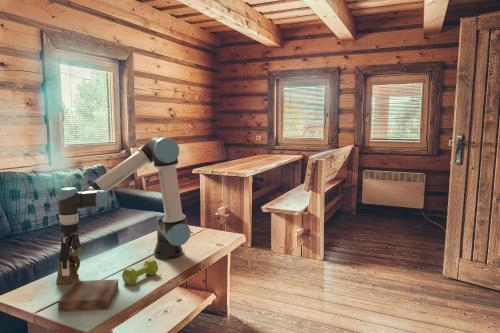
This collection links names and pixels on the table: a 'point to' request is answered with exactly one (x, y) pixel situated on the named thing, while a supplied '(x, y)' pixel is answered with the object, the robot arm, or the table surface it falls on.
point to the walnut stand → (88, 295)
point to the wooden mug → (70, 268)
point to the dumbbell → (139, 272)
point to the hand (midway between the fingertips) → (71, 269)
